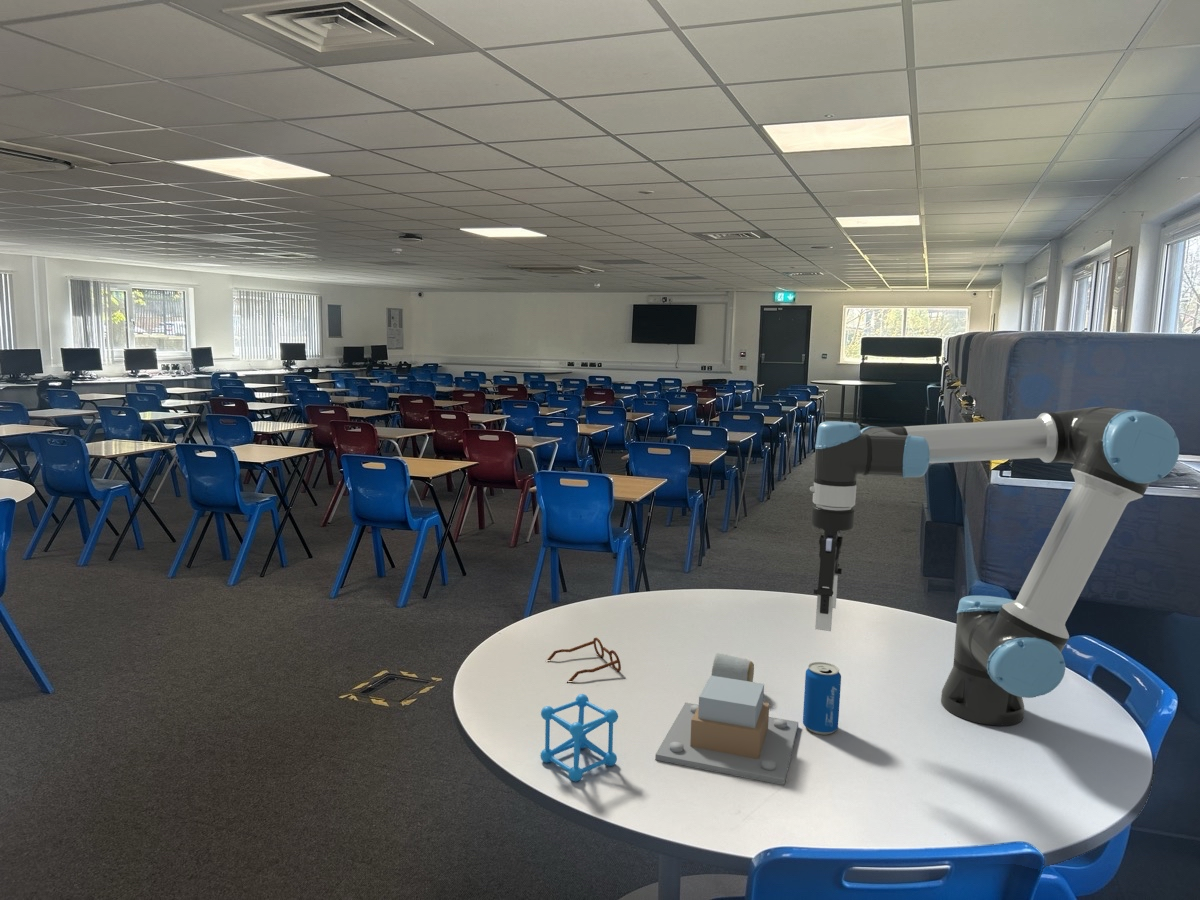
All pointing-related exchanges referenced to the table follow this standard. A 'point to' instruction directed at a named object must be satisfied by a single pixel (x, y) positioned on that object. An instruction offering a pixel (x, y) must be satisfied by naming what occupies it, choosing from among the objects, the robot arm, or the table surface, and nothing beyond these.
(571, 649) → the glasses
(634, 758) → the table surface
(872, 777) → the table surface
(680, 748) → the tower base
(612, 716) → the molecular structure
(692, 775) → the table surface
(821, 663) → the beverage can
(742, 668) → the ceramic mug
